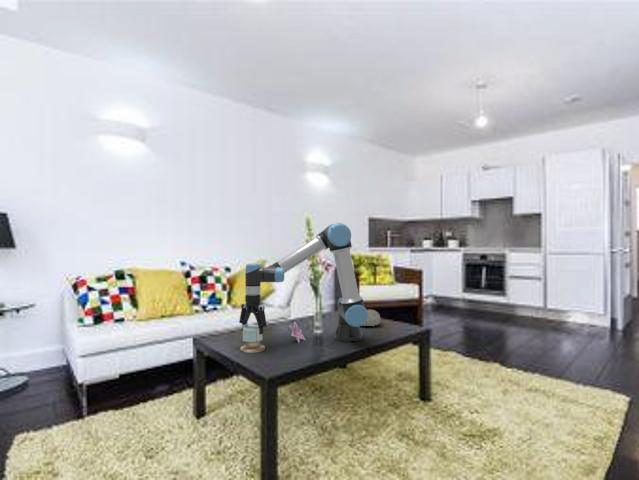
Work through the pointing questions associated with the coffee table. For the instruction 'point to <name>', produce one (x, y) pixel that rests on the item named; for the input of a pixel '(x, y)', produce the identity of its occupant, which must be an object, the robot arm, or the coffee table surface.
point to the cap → (250, 333)
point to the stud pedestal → (252, 347)
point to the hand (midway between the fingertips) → (252, 338)
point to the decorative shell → (372, 318)
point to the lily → (296, 332)
